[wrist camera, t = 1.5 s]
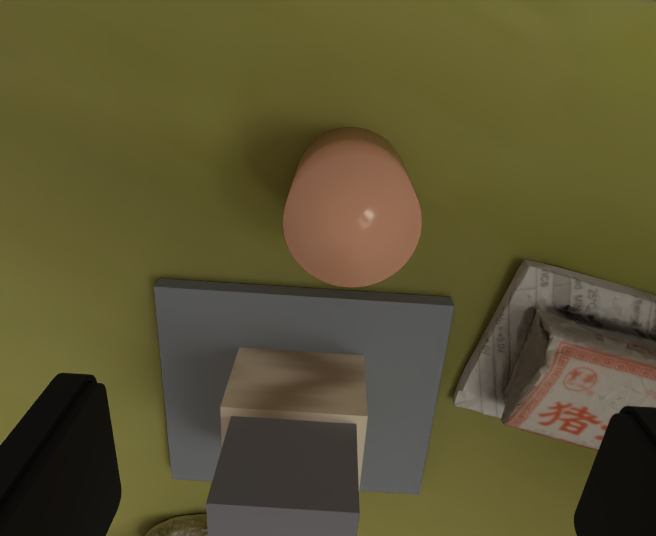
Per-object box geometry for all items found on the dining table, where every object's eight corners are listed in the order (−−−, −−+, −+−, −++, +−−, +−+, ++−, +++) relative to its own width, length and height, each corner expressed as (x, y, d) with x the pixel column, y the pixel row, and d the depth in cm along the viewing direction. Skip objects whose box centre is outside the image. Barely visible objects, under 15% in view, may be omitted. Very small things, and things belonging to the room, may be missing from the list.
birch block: (363, 355, 29) (367, 416, 25) (354, 449, 32) (355, 519, 28) (239, 347, 29) (220, 406, 25) (240, 442, 32) (224, 510, 28)
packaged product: (890, 392, 25) (759, 526, 29) (809, 337, 30) (706, 461, 34) (551, 293, 23) (463, 451, 28) (518, 250, 28) (447, 392, 32)
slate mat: (450, 296, 29) (454, 305, 28) (417, 482, 35) (419, 494, 34) (159, 278, 29) (153, 286, 28) (176, 467, 35) (171, 478, 34)
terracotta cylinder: (411, 131, 25) (431, 161, 19) (398, 237, 27) (412, 291, 22) (297, 123, 25) (284, 152, 19) (293, 231, 27) (281, 283, 22)
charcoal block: (356, 423, 25) (359, 513, 20) (347, 511, 27) (348, 608, 23) (230, 415, 25) (206, 503, 20) (233, 504, 27) (211, 600, 23)
